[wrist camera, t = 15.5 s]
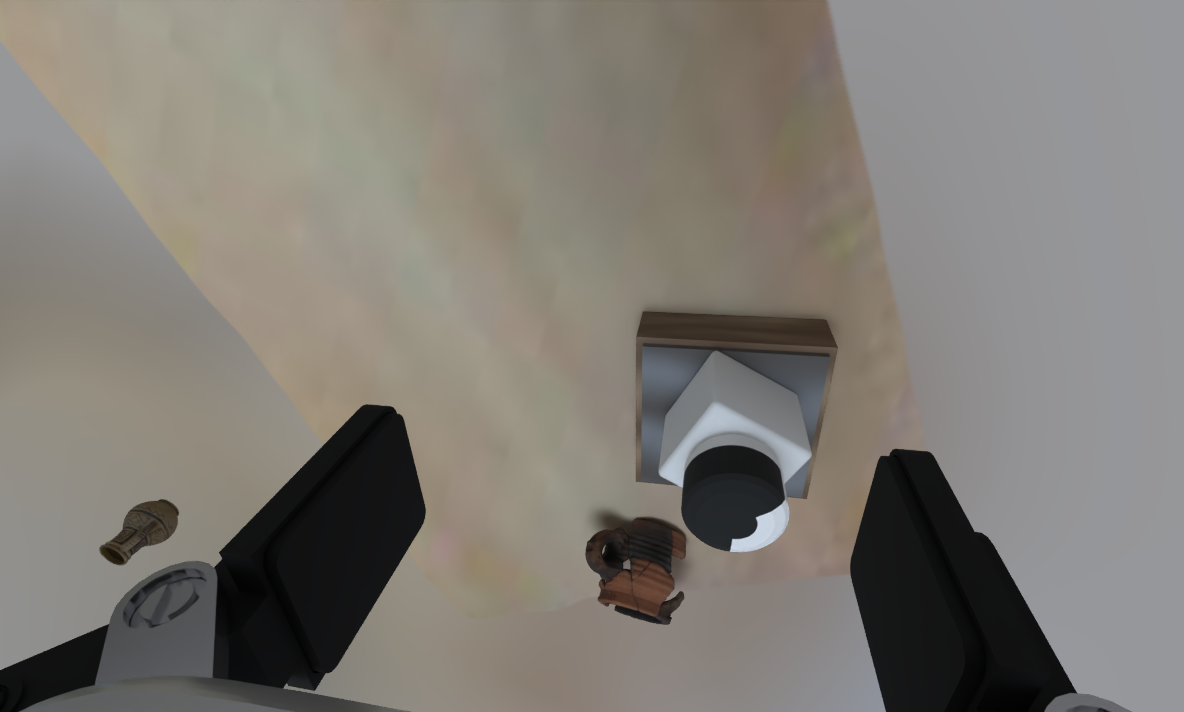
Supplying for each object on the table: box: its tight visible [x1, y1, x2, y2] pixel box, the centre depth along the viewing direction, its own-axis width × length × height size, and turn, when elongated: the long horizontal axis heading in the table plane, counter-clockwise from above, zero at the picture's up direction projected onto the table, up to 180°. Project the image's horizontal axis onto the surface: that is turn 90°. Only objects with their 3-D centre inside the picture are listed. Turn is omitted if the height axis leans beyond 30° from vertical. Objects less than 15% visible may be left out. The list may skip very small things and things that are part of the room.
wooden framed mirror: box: [636, 312, 838, 499], centre depth 44 cm, size 14×14×5 cm
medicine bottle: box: [658, 351, 812, 552], centre depth 36 cm, size 7×7×12 cm
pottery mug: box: [585, 519, 686, 625], centre depth 55 cm, size 12×9×8 cm
